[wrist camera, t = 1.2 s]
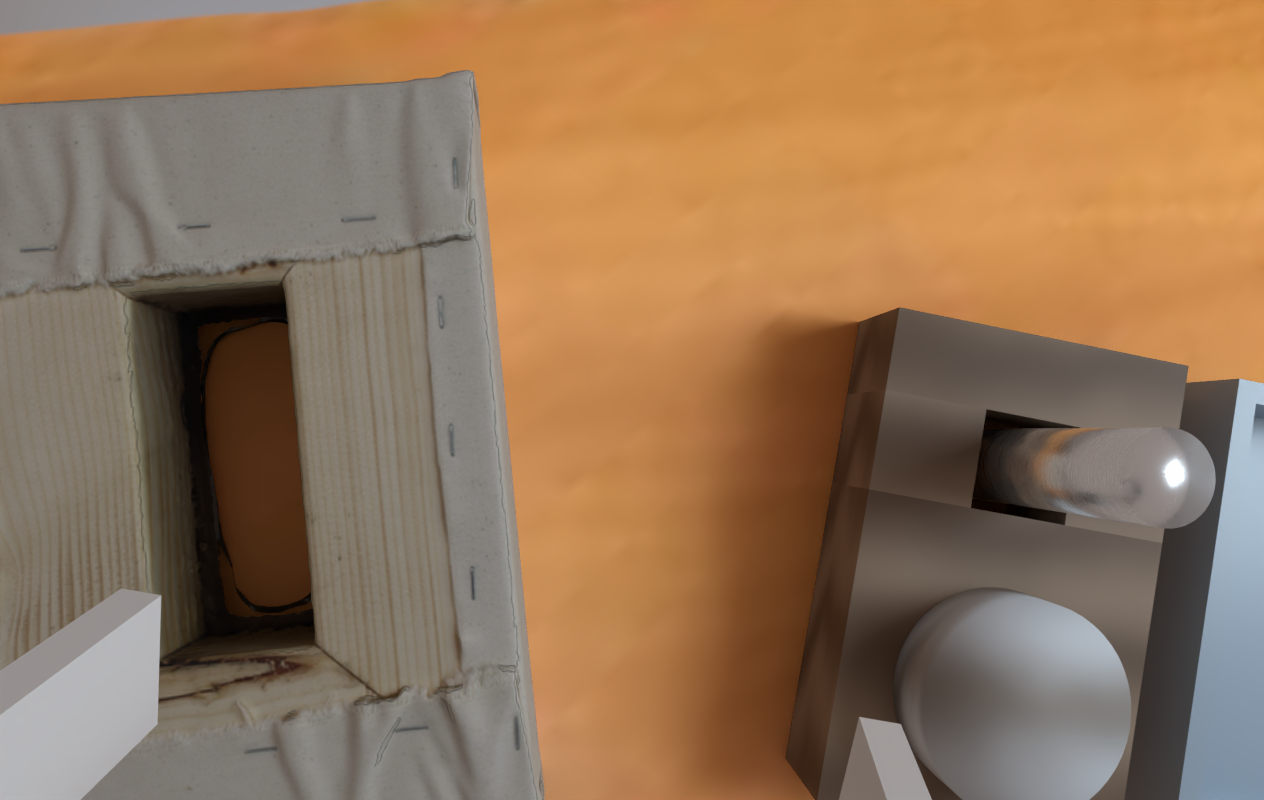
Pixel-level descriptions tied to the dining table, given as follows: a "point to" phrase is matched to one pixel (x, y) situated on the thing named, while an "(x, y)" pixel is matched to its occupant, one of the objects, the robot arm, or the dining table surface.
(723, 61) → the dining table surface
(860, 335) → the block
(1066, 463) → the lock pin
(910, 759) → the robot arm
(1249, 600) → the tray
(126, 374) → the slotted block
